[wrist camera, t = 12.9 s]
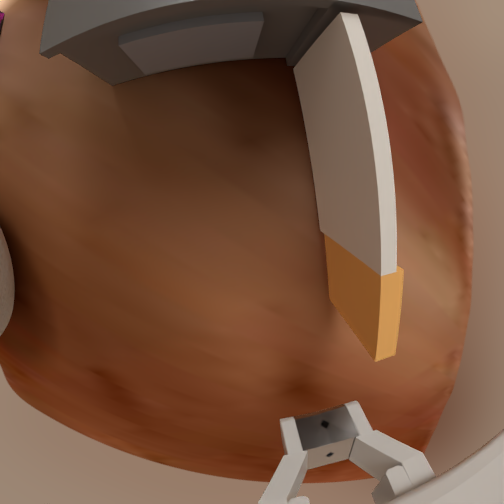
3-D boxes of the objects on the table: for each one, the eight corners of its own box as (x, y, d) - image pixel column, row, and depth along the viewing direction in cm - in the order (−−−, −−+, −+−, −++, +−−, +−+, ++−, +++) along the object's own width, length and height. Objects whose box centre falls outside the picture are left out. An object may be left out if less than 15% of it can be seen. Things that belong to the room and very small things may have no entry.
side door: (293, 68, 18) (340, 12, 9) (310, 68, 18) (366, 15, 9) (325, 294, 25) (375, 361, 15) (340, 290, 25) (394, 354, 15)
